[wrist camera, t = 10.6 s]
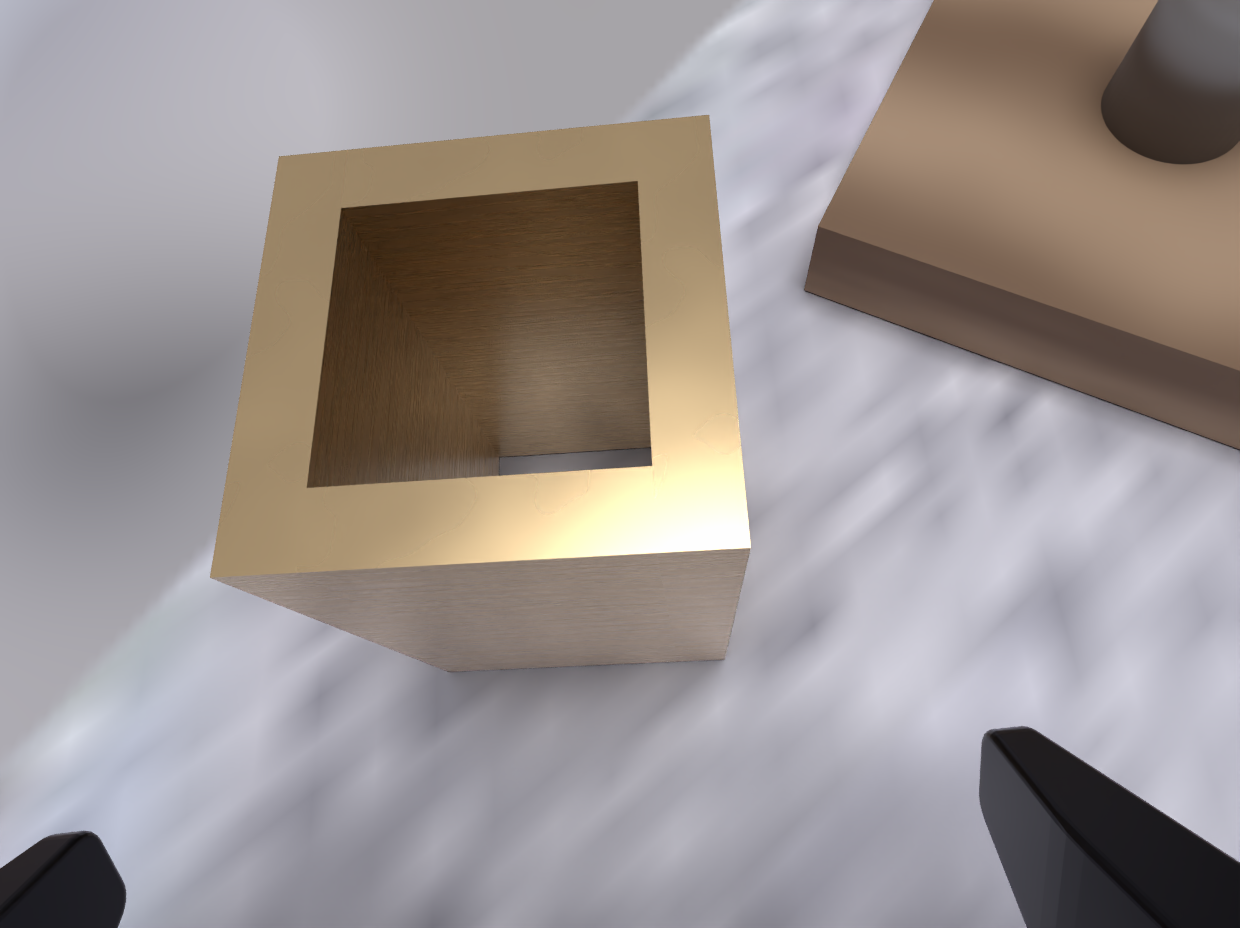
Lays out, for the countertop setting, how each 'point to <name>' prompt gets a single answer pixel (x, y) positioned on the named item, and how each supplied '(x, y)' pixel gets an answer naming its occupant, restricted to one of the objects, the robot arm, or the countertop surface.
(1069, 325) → the post stand
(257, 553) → the collar
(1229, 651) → the countertop surface
